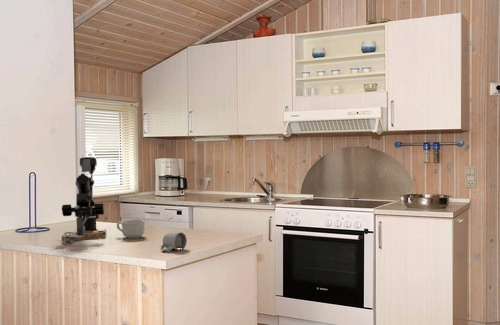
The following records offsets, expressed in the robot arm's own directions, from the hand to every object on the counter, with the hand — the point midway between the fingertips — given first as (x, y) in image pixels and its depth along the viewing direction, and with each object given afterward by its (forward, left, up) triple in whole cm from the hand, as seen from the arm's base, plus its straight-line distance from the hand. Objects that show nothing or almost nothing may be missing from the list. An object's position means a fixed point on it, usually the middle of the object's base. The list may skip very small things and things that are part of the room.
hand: (82, 223), depth 245 cm
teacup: (-23, +3, -9) cm, 25 cm away
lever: (-1, -5, -6) cm, 8 cm away
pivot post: (+5, -5, -9) cm, 11 cm away
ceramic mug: (-21, +44, -9) cm, 49 cm away
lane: (-6, -12, -9) cm, 16 cm away
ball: (-11, -9, -9) cm, 17 cm away
